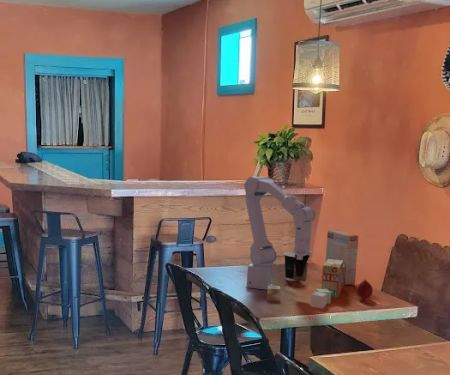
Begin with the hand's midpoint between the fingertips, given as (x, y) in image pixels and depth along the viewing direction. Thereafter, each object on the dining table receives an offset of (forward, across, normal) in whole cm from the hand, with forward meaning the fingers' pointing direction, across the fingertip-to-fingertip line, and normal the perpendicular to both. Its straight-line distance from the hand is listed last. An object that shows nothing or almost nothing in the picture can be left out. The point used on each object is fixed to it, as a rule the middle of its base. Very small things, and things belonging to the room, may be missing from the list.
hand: (300, 274), depth 231 cm
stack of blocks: (+9, +17, -12) cm, 23 cm away
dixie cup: (+9, +27, +6) cm, 29 cm away
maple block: (+9, -5, +9) cm, 14 cm away
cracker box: (+9, +33, -14) cm, 37 cm away
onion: (+9, +8, -24) cm, 27 cm away
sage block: (+9, -2, -9) cm, 13 cm away
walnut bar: (+2, 0, 0) cm, 2 cm away
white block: (+9, -7, -8) cm, 14 cm away
